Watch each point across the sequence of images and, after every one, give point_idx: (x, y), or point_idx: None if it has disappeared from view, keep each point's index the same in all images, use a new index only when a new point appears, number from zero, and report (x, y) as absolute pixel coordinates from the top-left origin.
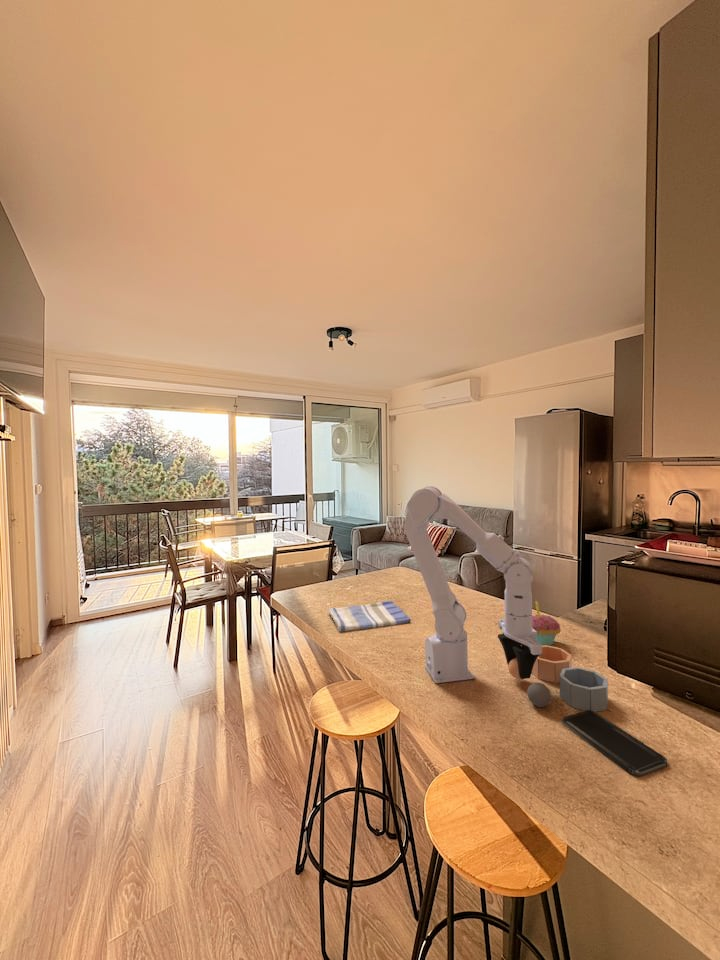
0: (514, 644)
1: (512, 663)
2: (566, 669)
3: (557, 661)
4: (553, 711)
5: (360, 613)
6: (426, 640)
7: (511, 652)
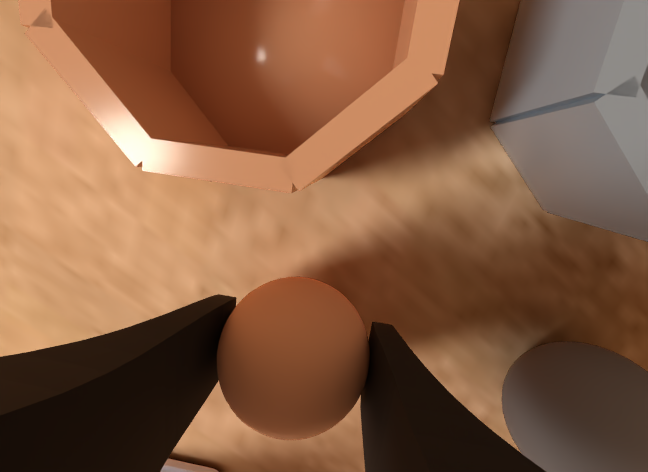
0: (98, 467)
1: (285, 439)
2: (635, 64)
3: (428, 15)
4: (625, 345)
5: None
6: None
7: (166, 418)
